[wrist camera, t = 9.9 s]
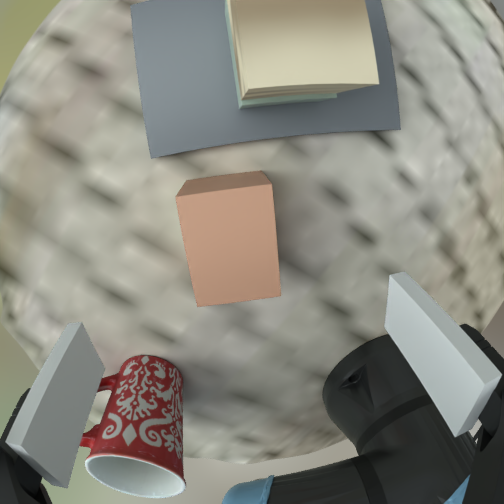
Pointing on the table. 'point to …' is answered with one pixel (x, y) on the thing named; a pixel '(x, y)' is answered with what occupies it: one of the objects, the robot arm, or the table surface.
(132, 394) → the mug
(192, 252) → the terracotta brick
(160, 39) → the baseplate
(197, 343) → the table surface
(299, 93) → the maple brick
